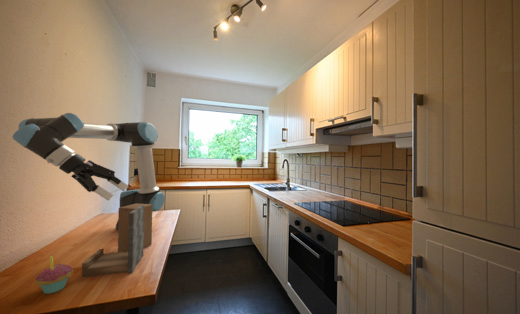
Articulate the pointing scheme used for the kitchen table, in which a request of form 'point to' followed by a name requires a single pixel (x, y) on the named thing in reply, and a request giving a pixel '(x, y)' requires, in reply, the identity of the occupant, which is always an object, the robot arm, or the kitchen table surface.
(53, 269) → the cupcake
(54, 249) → the kitchen table surface
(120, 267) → the wooden bookend
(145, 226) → the wooden block
